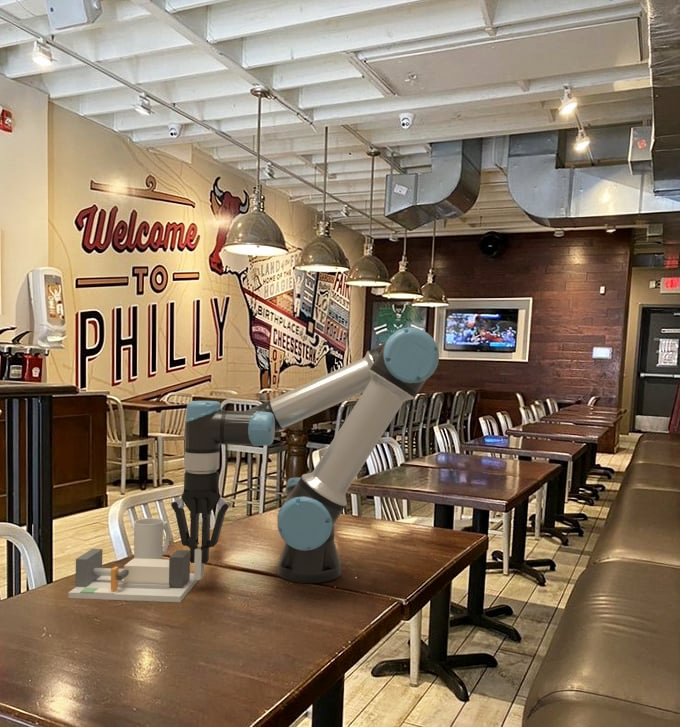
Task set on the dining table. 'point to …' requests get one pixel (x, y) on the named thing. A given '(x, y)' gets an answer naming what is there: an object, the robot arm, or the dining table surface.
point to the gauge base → (119, 584)
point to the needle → (114, 578)
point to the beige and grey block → (158, 570)
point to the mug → (150, 538)
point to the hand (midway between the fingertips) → (198, 577)
